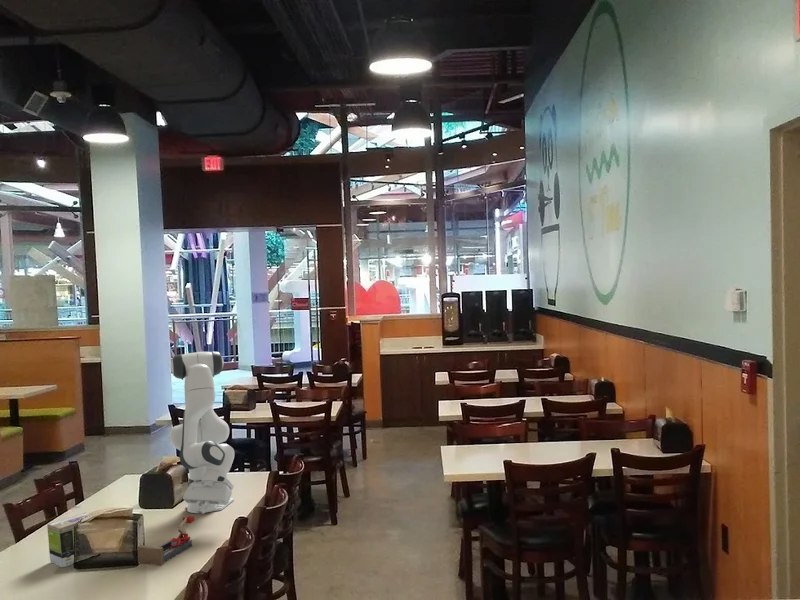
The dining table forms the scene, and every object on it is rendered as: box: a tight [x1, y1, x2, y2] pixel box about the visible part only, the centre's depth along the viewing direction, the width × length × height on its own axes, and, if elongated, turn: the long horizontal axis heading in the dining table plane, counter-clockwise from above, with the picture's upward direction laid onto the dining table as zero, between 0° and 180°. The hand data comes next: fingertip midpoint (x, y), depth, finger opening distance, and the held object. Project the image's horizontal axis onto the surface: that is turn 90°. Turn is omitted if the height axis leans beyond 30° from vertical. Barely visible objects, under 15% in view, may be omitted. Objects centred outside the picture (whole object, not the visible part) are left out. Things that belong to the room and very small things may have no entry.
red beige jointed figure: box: [170, 515, 195, 550], centre depth 275 cm, size 3×14×10 cm, turn 169°
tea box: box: [46, 512, 92, 568], centre depth 267 cm, size 15×10×15 cm, turn 141°
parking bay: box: [137, 538, 193, 567], centre depth 266 cm, size 19×10×6 cm, turn 159°
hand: (199, 512), depth 285 cm, fingers closed
